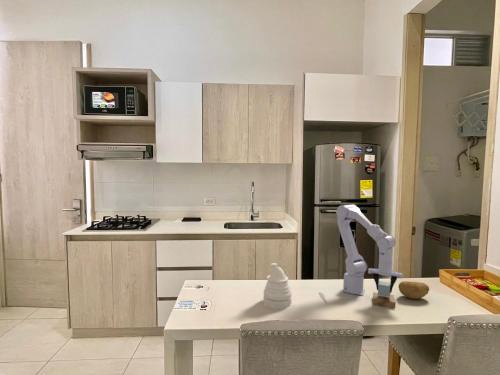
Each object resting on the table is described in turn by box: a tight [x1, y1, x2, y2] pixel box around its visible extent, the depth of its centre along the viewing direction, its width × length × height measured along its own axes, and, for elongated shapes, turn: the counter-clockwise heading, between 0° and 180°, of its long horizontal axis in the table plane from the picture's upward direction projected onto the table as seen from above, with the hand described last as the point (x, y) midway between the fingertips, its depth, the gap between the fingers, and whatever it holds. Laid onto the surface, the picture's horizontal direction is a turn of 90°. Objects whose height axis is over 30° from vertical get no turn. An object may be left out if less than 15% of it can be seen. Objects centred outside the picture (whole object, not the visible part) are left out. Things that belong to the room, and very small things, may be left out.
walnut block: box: [372, 292, 396, 309], centre depth 152 cm, size 9×9×3 cm
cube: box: [377, 280, 391, 297], centre depth 152 cm, size 5×5×5 cm
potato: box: [398, 280, 430, 300], centre depth 158 cm, size 10×14×8 cm
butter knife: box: [318, 291, 329, 305], centre depth 150 cm, size 1×27×3 cm
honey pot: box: [262, 262, 293, 310], centre depth 150 cm, size 13×13×18 cm
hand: (384, 290), depth 152 cm, fingers closed on cube, 5 cm apart
